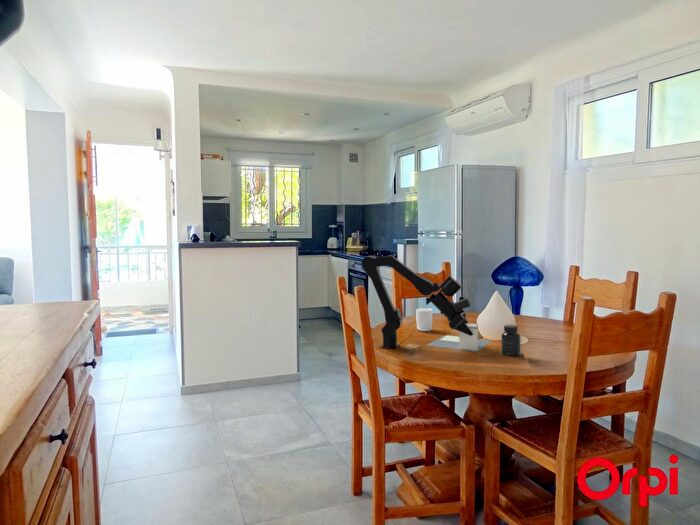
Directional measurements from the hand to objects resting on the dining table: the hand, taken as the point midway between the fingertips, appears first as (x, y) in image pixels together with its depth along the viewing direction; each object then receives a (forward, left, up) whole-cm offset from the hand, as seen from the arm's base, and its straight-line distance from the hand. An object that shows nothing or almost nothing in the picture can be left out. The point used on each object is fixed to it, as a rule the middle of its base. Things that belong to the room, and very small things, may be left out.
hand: (472, 332), depth 192 cm
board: (+5, +7, -7) cm, 11 cm away
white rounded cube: (0, +1, -6) cm, 6 cm away
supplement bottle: (-2, -16, -7) cm, 18 cm away
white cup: (+25, +31, -7) cm, 40 cm away
